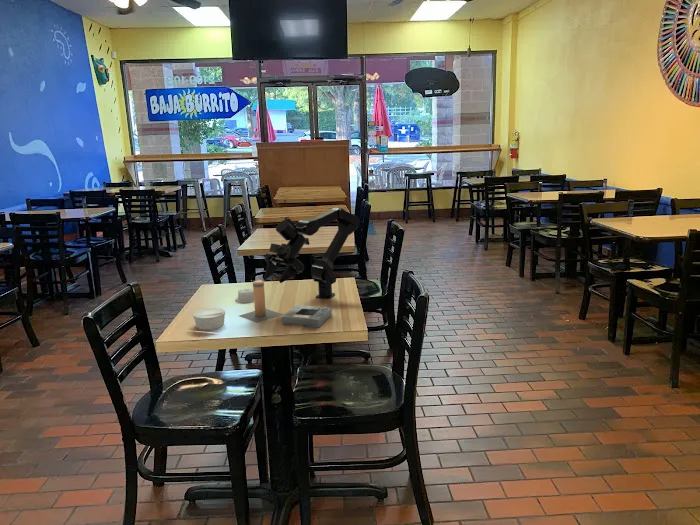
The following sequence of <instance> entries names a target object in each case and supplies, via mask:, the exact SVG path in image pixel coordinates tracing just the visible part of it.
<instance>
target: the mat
mask: <svg viewBox="0 0 700 525" xmlns="http://www.w3.org/2000/svg"><path fill="white" fill-rule="evenodd" d="M283 315H284V313H281V312H277V311H274V310H271V309H268V308H266V315H265V316H263V317H257V316H255V310H252V311H250V312H247V313H244V314H240V315H238V317H240V318H243V319H246V320H248V321H251V322H254V323H257V324H258V323H261V322H264V321H267V320H270V319H274V318H276V317H280V316H283Z"/></svg>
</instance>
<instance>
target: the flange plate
mask: <svg viewBox="0 0 700 525" xmlns="http://www.w3.org/2000/svg"><path fill="white" fill-rule="evenodd" d="M331 315H333V309H332V307H328V306H327V307H326V306H315V305H300V304H296V305H295V306H294V307H293V308H291V309H290V310H289V311H288V312H286V313H284V314H283V315H281V324H283V325H294V326H295V325H296V326H301V327H302V326H304V328H305V327H306V328H315V327H316V328H320V327H321V326H323V324H324V323H325V322H327V321H328V319H329V317H330V316H331ZM330 318H331V317H330ZM316 328H315V329H316Z"/></svg>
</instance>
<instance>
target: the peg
mask: <svg viewBox="0 0 700 525" xmlns="http://www.w3.org/2000/svg"><path fill="white" fill-rule="evenodd" d="M252 289H253V291H254V302H253V304H254V311H255V316H257V317H263V316H265V315H266V309H267V308H266V296H265V295H266V294H265V280H262V279H261V280H260V279H259V280H253V281H252Z"/></svg>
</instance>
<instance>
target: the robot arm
mask: <svg viewBox="0 0 700 525" xmlns="http://www.w3.org/2000/svg"><path fill="white" fill-rule="evenodd" d="M334 221H336V222H338V223H337V231H336V233H335V235H334V236H333V239H332V240H331V242H330V244H329V245H328V247H327V248H326V251H325V253H324V255H323V257H322V258H315V260H314V262H313V264H312V265H311V266H310V267H311V269H310V274H311V277H312V279H313V282H315V283H316V282H317V285H318V286H317V290H318V294H316V295H315V298H316V299H317V298H318V299H331V298H333V296H335V295H336V293H335V292H333V284H335V283H336V282H337V276H336V275H335V274H334V273H333V272H334V262H335V260H336V259H337V257H338V255H339V254H340V252H341V250H342V249H343V246H344V245H345V242H346V241H347V239H348V237H349V236H350V235H351V234H353V233H354V232H355V231H356V230H357V229H358V227H359V226H360V222H361V221H360V217H359V216H358V215H355V214H353V213H350V212H349V211H347V210H345V209H344V208H341V207H333V208H331V209H330V210H328V211H326V212H323V213H320V214H319V215H317V216H314V217H311V218H304V219H301V220H298V221H297V222H296V223H295V224H294V222H293V221H292V220H291V219H290V218H285V219H283V220H282V221H280V222H279V223H278V224H276V227H275V231H276V232H277V233H278V234H279V235H280V236H281V237H282V238H283V239H284V240H285V241H288V242H287V243H281V244H277V243H270V247H269V252H267V253H265V255H264V257H263V258H264V261H265V262H266V269H265V274H264V277H263V278H264V279H265V280H267V279H269V278H270V277H271V276H273V274H274V273H275V272H276V271H277V270H278V269H279V266H281V265H285V268H284V270H283V273H282V275H281V277H280V278H279V281H278V282H279V283H280V284H283V282H284V283H285V281H287V280H288V279H290V278H292V277H294V276H296V275H298V274H300V273H303V271H304V270H305V264H303V262H301V261H300V260H299V259H298V258H297V257H300V256H301V254H300V253H301V250H302V248H303V246H304V245H307V246H309V245H310V241H309V239H310V238H308V237H305V236H313V235H315V234H316V233H317V232H318V231H319V229H320V228H322V227H323V226H325V225H328V224H329V223H330V224H331V223H332V222H334ZM270 252H272V253H270Z"/></svg>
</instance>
